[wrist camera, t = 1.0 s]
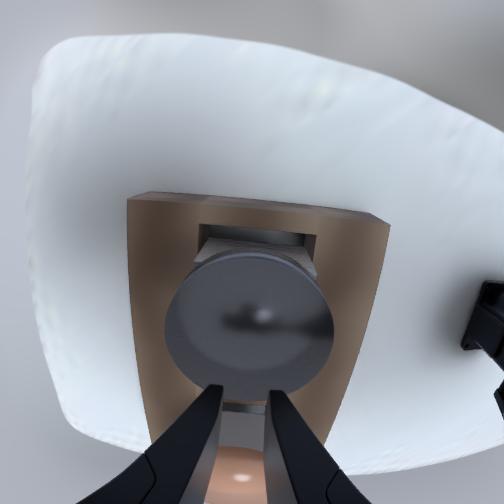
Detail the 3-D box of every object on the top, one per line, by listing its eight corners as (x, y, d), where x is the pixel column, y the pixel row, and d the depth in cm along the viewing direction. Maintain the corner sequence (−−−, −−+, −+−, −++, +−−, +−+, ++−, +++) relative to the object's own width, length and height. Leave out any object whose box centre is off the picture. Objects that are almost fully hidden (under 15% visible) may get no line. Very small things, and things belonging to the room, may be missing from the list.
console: (369, 213, 18) (390, 225, 15) (312, 431, 24) (317, 459, 21) (149, 191, 18) (127, 199, 15) (161, 417, 24) (151, 444, 21)
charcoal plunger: (322, 232, 15) (350, 269, 10) (302, 341, 17) (315, 405, 12) (194, 220, 15) (162, 251, 10) (191, 331, 17) (168, 391, 12)
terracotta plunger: (287, 407, 19) (292, 468, 14) (274, 457, 21) (275, 509, 16) (192, 399, 19) (177, 458, 14) (194, 450, 21) (184, 501, 16)
